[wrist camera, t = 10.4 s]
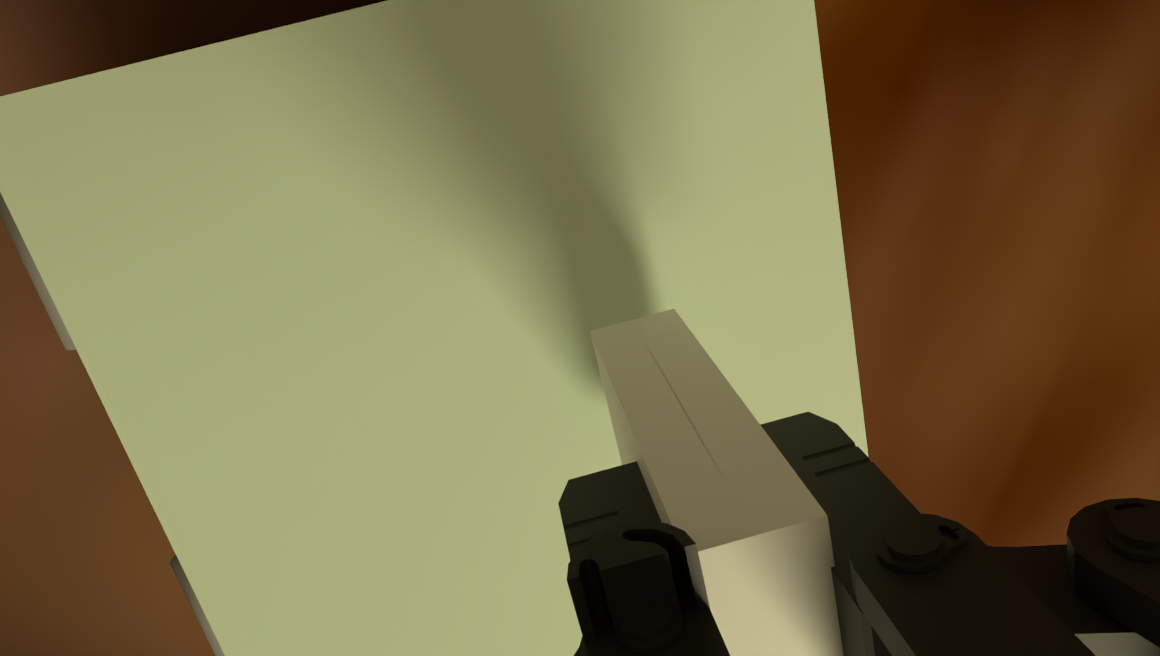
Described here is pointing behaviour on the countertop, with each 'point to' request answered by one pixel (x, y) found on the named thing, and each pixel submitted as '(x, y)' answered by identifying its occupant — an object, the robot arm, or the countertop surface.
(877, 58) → the countertop surface
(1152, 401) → the countertop surface
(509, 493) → the lid
